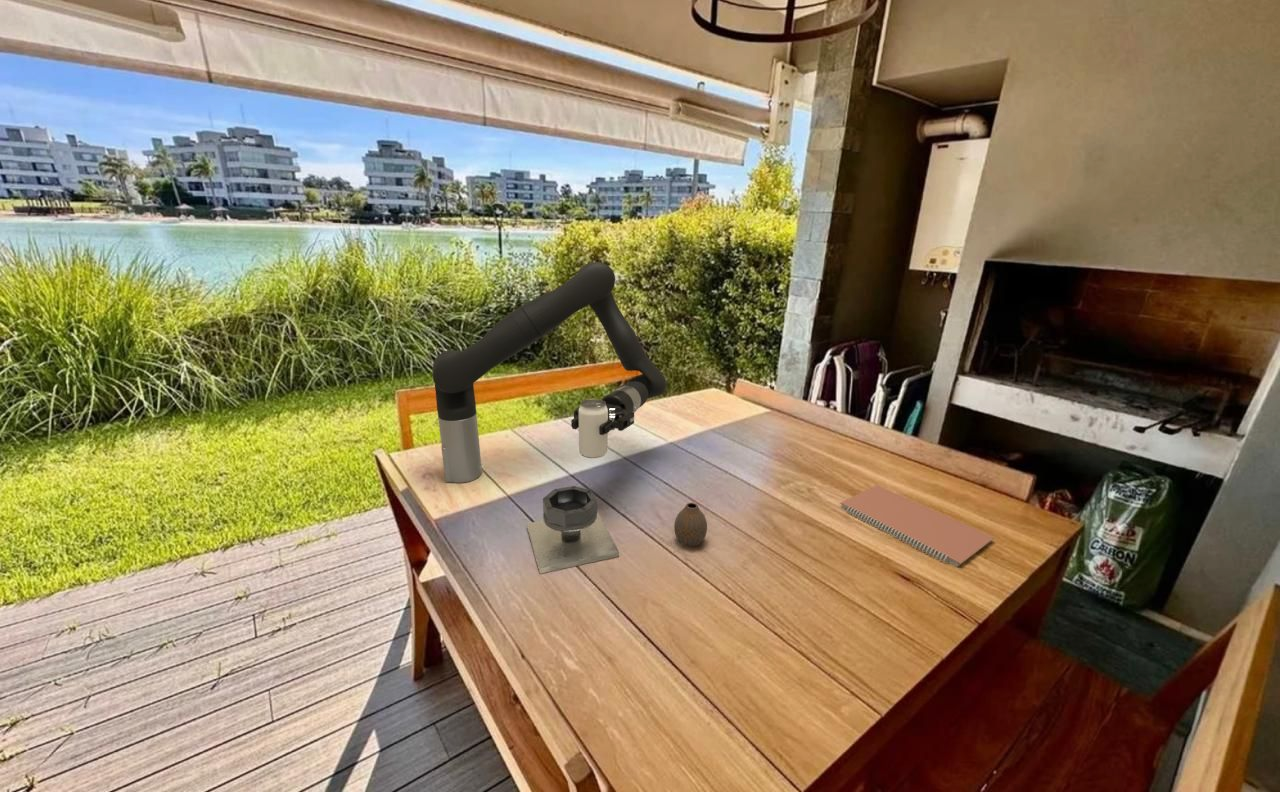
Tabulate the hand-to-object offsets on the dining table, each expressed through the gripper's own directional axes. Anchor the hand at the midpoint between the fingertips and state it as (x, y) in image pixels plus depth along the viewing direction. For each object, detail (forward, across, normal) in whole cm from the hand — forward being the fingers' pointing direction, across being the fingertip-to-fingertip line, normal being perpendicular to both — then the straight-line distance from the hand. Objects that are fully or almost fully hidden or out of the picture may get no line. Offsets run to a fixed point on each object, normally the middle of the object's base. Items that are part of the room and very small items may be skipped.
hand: (587, 428), depth 109 cm
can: (-3, 0, +7) cm, 8 cm away
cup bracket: (+11, +2, +22) cm, 24 cm away
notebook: (-28, +69, +22) cm, 78 cm away
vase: (0, +25, +22) cm, 33 cm away
